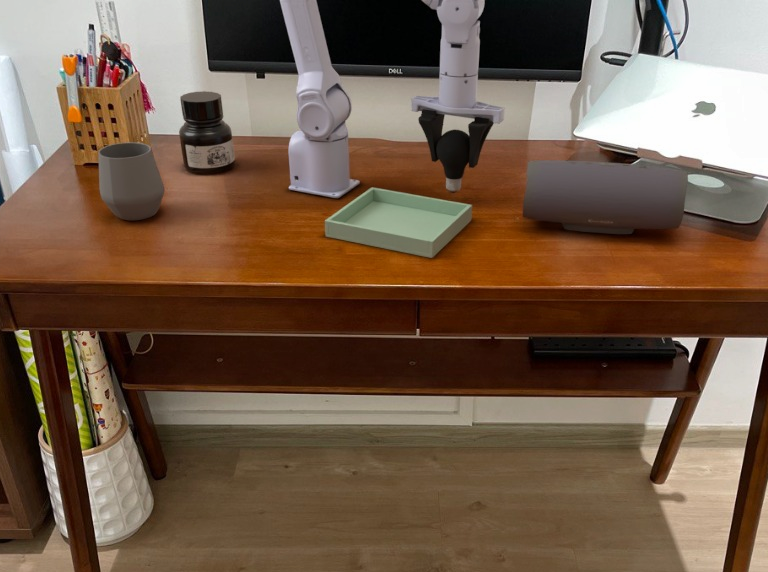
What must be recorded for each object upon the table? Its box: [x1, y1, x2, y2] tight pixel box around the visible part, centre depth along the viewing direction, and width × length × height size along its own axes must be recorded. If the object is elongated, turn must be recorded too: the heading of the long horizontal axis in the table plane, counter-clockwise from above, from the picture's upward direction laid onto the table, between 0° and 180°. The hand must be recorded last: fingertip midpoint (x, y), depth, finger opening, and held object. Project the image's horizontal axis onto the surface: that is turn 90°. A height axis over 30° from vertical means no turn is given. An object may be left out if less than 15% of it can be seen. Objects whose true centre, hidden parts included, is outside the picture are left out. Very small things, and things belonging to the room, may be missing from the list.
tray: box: [324, 187, 473, 259], centre depth 124 cm, size 17×15×2 cm
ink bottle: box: [178, 90, 236, 175], centre depth 143 cm, size 10×9×12 cm
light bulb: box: [436, 129, 470, 194], centre depth 131 cm, size 6×6×10 cm
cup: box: [97, 141, 165, 222], centre depth 125 cm, size 10×9×10 cm
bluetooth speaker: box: [522, 159, 689, 235], centre depth 123 cm, size 23×9×10 cm, turn 80°
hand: (454, 162), depth 131 cm, fingers closed on light bulb, 6 cm apart
